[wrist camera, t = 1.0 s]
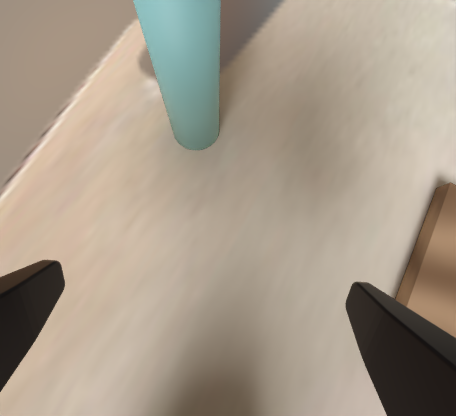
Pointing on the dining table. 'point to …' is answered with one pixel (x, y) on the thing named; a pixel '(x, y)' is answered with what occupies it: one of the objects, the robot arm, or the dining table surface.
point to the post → (186, 64)
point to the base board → (434, 264)
